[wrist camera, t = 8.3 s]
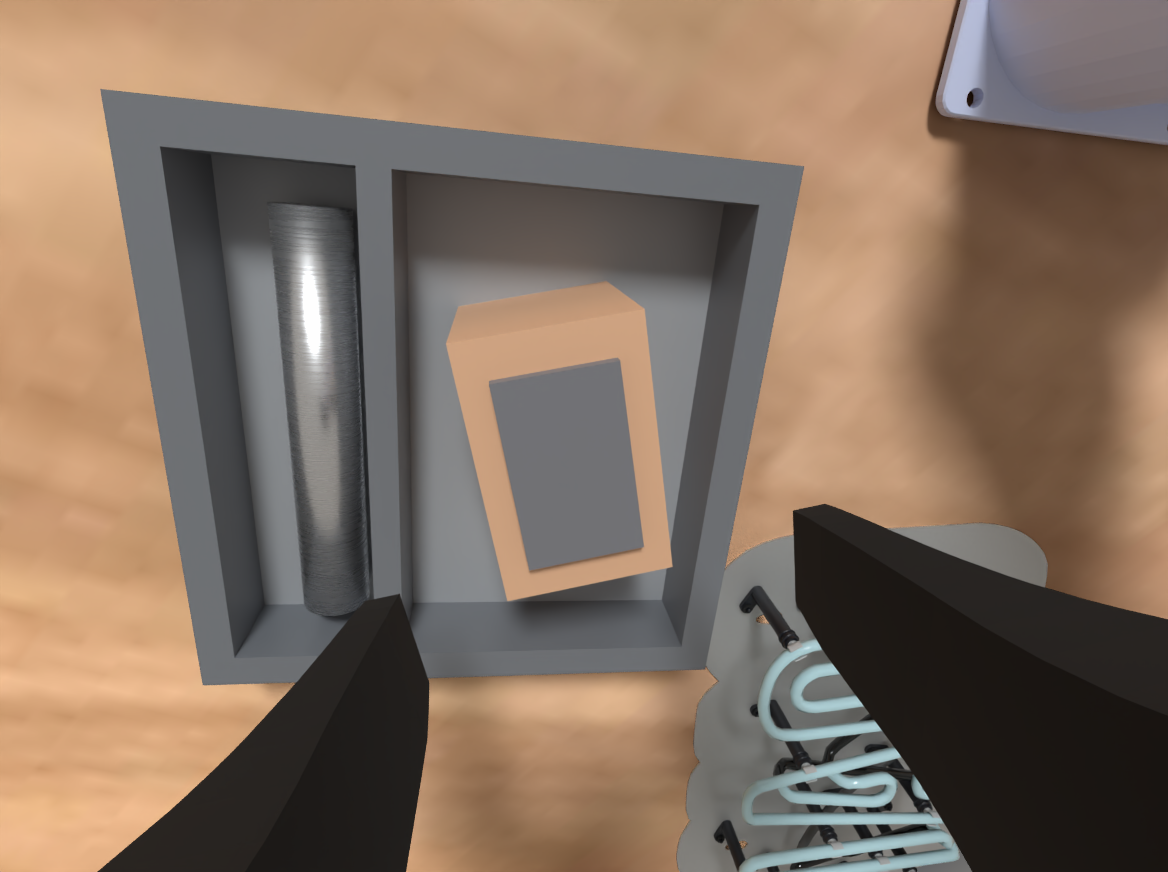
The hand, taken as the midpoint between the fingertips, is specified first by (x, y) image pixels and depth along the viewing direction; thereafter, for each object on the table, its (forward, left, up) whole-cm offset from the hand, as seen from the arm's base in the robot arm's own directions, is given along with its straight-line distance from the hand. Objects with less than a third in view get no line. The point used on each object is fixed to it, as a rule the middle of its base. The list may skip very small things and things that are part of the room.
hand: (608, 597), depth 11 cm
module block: (0, -1, -10) cm, 10 cm away
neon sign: (-21, +14, -11) cm, 28 cm away
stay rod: (+8, 0, -9) cm, 12 cm away
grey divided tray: (+3, 0, -10) cm, 10 cm away
